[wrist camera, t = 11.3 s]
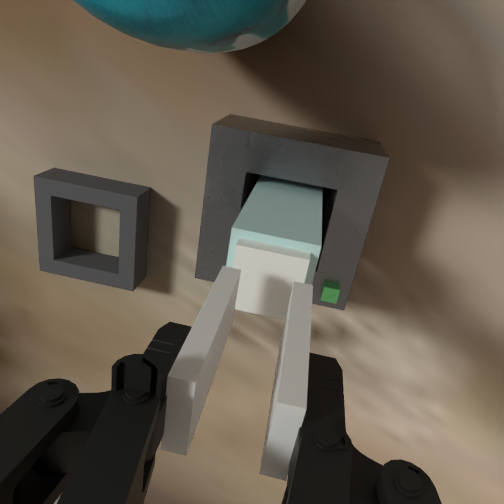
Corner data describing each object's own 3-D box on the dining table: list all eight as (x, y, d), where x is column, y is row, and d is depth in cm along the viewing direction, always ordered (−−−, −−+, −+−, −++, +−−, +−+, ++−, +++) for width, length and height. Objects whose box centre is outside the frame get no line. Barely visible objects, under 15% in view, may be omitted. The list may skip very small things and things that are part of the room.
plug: (256, 219, 31) (216, 312, 20) (265, 166, 29) (227, 234, 18) (310, 230, 31) (301, 331, 19) (322, 177, 29) (321, 253, 18)
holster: (58, 257, 35) (39, 270, 33) (54, 167, 32) (33, 175, 30) (145, 276, 35) (133, 291, 32) (150, 187, 31) (137, 197, 29)
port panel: (212, 247, 33) (192, 282, 28) (230, 114, 28) (209, 125, 23) (341, 275, 32) (344, 315, 27) (379, 142, 28) (391, 160, 23)
